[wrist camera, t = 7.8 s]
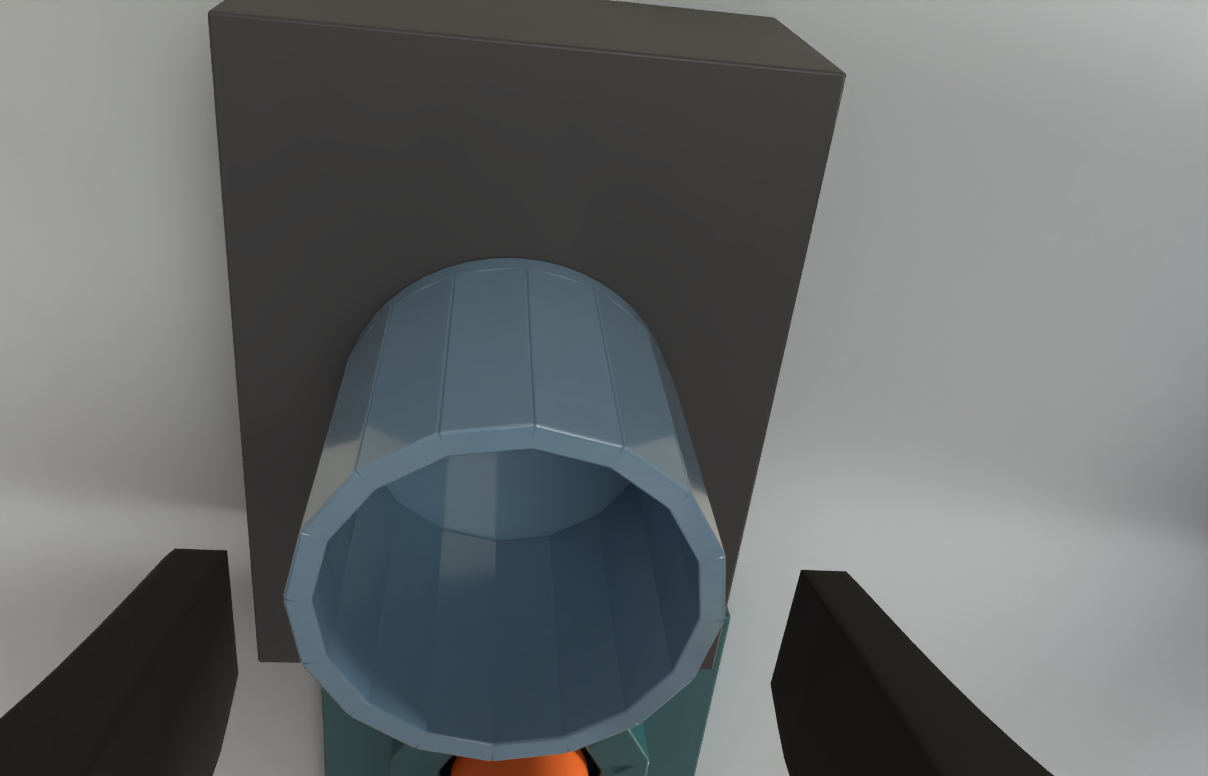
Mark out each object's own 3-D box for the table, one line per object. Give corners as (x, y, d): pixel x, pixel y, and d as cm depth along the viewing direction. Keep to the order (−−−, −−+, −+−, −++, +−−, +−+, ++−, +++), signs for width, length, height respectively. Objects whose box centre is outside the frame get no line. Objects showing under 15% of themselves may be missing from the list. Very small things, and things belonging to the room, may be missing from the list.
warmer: (776, 16, 19) (847, 73, 15) (676, 549, 25) (709, 688, 21) (272, -35, 17) (206, 10, 14) (299, 537, 24) (259, 681, 20)
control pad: (725, 598, 26) (746, 670, 23) (679, 806, 30) (693, 884, 27) (322, 587, 24) (305, 663, 22) (330, 806, 28) (315, 889, 26)
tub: (718, 460, 18) (786, 667, 14) (448, 578, 19) (432, 809, 14) (582, 197, 15) (614, 351, 11) (275, 348, 16) (192, 547, 12)
